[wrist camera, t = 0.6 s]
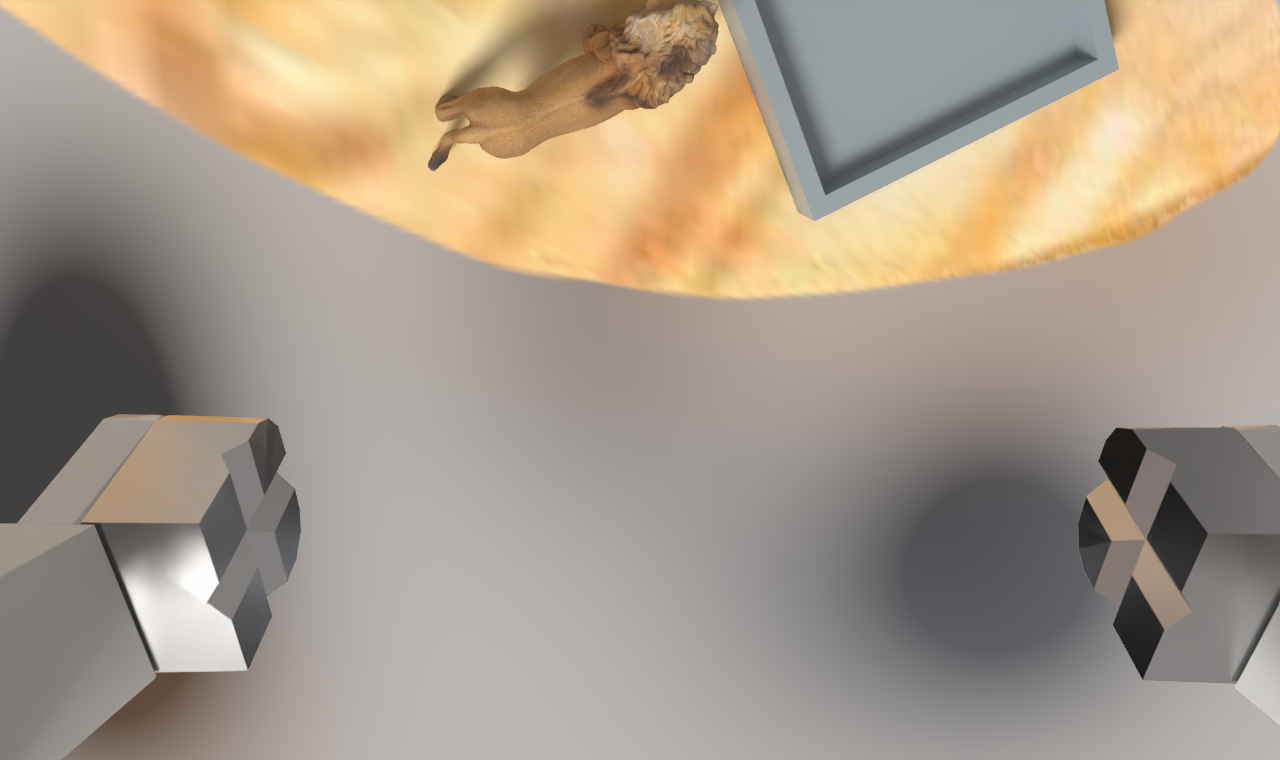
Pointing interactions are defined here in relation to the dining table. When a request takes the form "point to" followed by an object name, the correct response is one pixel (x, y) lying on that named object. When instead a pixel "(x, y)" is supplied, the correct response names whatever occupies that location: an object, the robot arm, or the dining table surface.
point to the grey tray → (904, 80)
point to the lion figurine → (590, 81)
